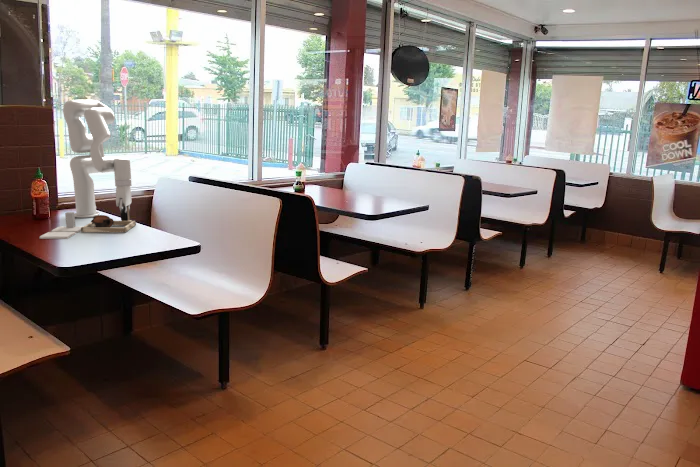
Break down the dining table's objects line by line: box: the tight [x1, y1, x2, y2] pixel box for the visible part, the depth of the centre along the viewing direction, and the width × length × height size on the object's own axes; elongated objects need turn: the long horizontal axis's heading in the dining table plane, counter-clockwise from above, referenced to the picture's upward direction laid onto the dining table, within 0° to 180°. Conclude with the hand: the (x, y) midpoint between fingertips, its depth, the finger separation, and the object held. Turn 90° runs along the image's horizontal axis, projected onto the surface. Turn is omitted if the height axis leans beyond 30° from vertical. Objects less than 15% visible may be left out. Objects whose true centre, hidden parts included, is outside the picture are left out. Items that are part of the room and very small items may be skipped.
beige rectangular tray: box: [80, 207, 137, 233], centre depth 287 cm, size 24×20×8 cm
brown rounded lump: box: [90, 214, 115, 227], centre depth 282 cm, size 12×10×8 cm
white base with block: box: [39, 211, 83, 240], centre depth 273 cm, size 21×12×8 cm, turn 3°
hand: (125, 219), depth 297 cm, fingers closed on beige rectangular tray, 3 cm apart
